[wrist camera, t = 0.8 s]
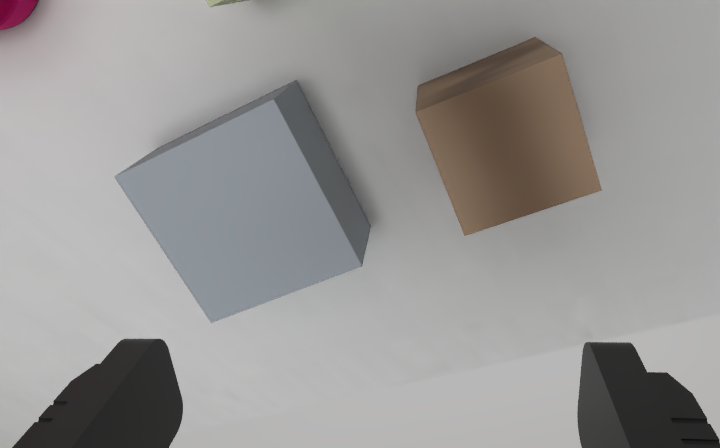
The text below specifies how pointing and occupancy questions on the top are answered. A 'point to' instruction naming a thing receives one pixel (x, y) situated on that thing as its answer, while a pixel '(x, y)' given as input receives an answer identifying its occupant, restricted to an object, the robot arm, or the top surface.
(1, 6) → the pepper mill
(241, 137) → the slate base block
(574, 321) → the top surface
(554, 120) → the walnut block
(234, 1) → the olive block
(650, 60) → the top surface
